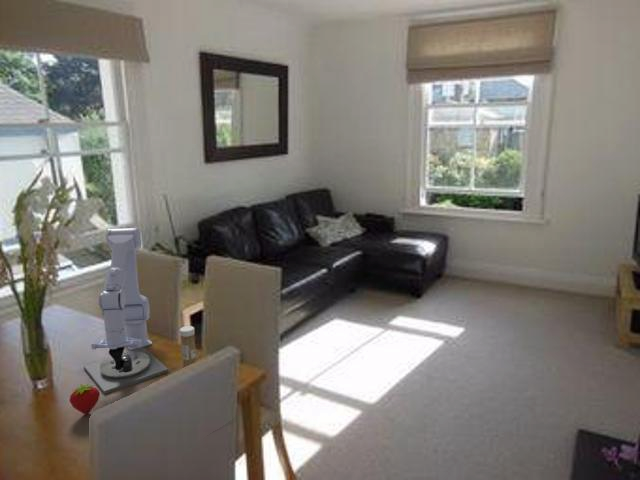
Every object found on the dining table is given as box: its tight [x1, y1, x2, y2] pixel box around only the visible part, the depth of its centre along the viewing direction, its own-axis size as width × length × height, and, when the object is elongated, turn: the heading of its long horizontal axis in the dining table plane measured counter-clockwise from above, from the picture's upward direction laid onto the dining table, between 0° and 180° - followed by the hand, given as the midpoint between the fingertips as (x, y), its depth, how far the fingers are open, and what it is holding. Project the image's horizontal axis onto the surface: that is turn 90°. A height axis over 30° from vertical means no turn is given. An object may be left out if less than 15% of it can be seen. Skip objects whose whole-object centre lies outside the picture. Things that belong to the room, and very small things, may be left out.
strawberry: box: [69, 383, 100, 415], centre depth 136 cm, size 6×8×10 cm
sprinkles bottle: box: [179, 325, 197, 368], centre depth 161 cm, size 5×5×13 cm
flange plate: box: [100, 350, 150, 379], centre depth 160 cm, size 16×15×5 cm
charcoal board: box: [83, 346, 169, 395], centre depth 160 cm, size 20×20×1 cm
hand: (119, 368), depth 154 cm, fingers closed, pressing on flange plate
